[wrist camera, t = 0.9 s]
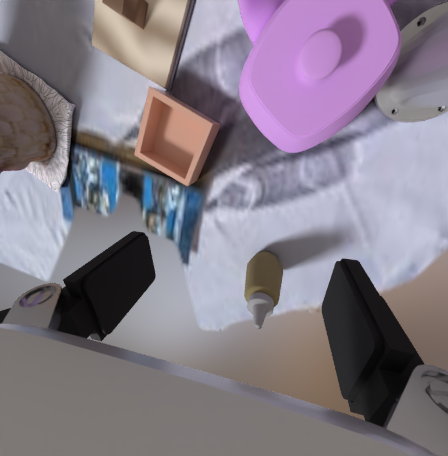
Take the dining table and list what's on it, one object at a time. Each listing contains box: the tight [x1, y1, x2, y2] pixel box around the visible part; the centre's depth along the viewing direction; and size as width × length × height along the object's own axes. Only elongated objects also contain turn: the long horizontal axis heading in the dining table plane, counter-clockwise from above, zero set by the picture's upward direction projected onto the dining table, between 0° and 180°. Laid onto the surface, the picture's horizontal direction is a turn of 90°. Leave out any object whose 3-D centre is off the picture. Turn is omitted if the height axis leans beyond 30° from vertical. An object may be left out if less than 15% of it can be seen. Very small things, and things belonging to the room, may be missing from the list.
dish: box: [134, 86, 221, 186], centre depth 37 cm, size 12×12×5 cm
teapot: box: [238, 0, 402, 153], centre depth 23 cm, size 23×21×15 cm
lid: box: [92, 0, 190, 89], centre depth 29 cm, size 15×15×6 cm
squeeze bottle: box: [244, 251, 283, 329], centre depth 39 cm, size 8×8×18 cm
